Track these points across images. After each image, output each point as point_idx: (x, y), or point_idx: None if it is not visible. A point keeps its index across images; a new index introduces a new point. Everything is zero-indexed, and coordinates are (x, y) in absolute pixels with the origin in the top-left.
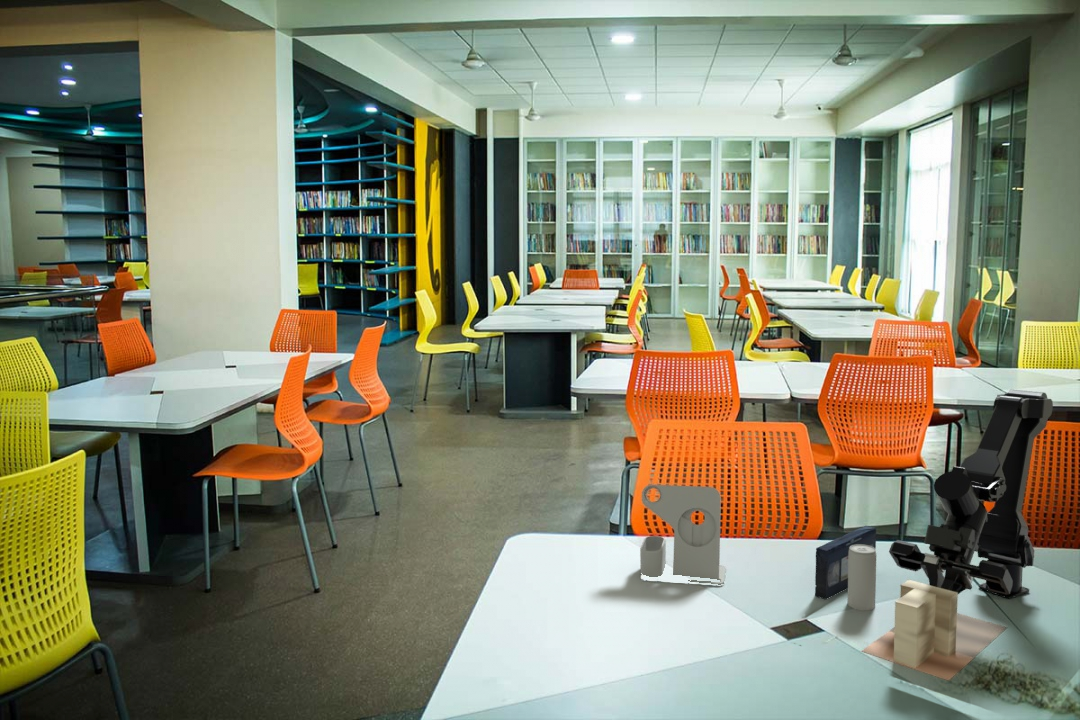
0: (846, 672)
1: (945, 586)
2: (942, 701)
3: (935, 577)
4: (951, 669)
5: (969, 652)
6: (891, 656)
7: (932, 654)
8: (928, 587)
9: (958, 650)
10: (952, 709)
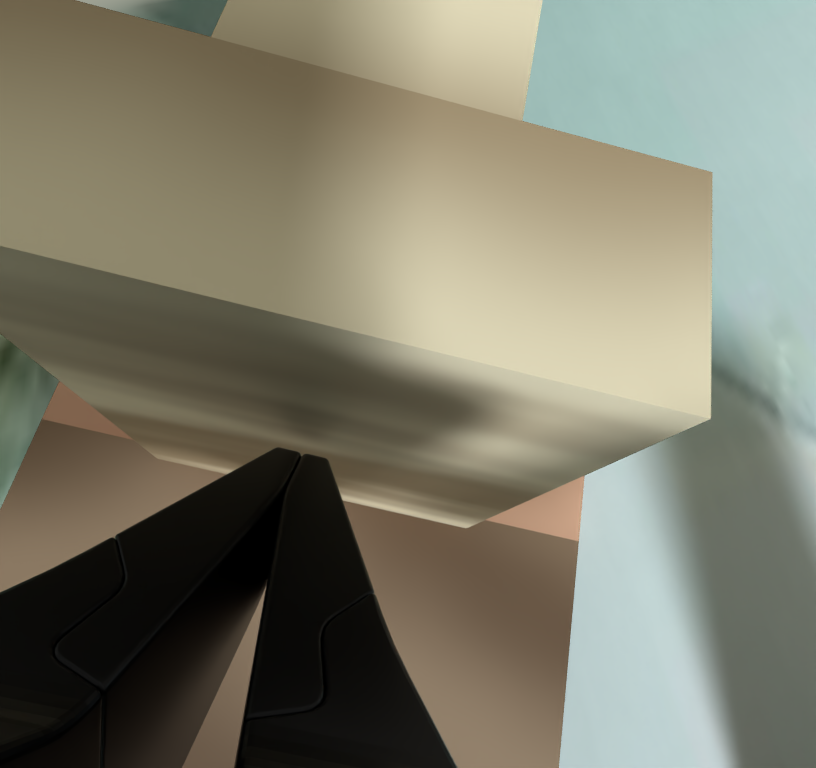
0: (589, 119)
1: (91, 594)
2: None
3: (293, 755)
4: None
5: (67, 478)
6: None
7: None
8: (349, 224)
9: (138, 474)
10: (163, 9)
